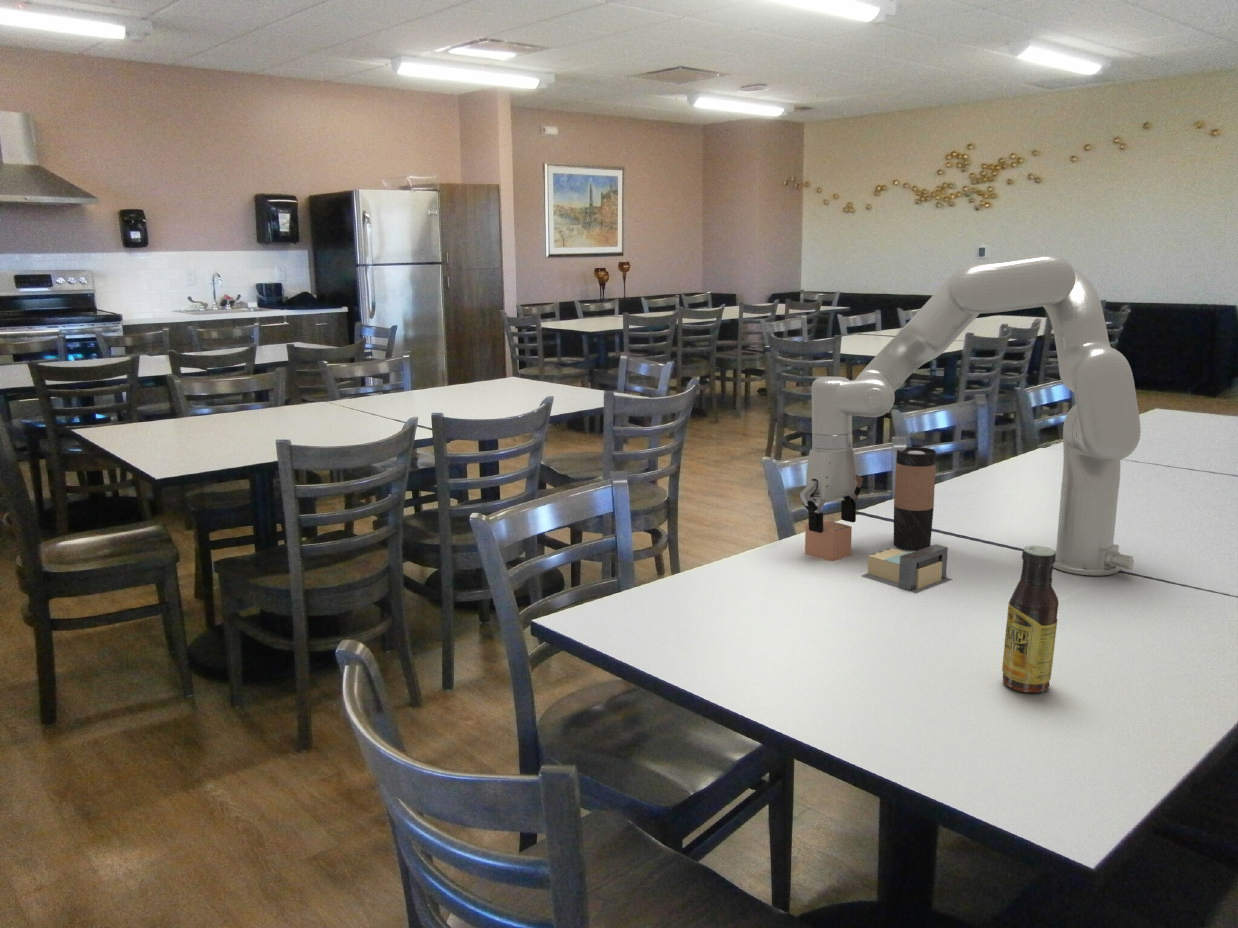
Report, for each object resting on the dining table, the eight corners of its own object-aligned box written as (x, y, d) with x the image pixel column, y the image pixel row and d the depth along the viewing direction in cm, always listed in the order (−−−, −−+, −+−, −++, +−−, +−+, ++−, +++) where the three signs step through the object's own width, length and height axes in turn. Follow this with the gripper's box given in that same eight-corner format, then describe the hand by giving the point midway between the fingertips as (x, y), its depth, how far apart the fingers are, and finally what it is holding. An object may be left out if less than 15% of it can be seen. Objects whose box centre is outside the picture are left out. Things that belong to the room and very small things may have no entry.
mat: (952, 580, 172) (952, 579, 171) (915, 594, 165) (915, 593, 165) (897, 564, 181) (897, 563, 181) (860, 577, 174) (860, 575, 174)
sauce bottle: (993, 677, 133) (1002, 542, 129) (1035, 674, 133) (1046, 540, 129) (1016, 698, 127) (1026, 557, 122) (1060, 695, 127) (1072, 555, 123)
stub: (850, 555, 186) (851, 525, 185) (832, 561, 183) (833, 531, 182) (823, 547, 192) (823, 518, 190) (804, 553, 188) (805, 523, 187)
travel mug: (933, 553, 187) (938, 455, 183) (893, 551, 189) (898, 454, 184) (929, 541, 194) (934, 447, 190) (890, 540, 196) (894, 446, 192)
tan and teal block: (941, 580, 171) (942, 561, 170) (918, 588, 167) (918, 569, 166) (890, 565, 180) (891, 547, 179) (867, 573, 175) (868, 555, 175)
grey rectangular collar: (946, 577, 172) (947, 547, 171) (910, 590, 166) (911, 559, 165) (934, 574, 174) (936, 544, 173) (898, 587, 168) (900, 556, 167)
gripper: (845, 432, 190) (845, 514, 194) (786, 445, 180) (788, 531, 184) (876, 436, 184) (875, 520, 188) (817, 450, 174) (817, 539, 178)
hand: (832, 526), depth 186 cm, fingers open, 9 cm apart
